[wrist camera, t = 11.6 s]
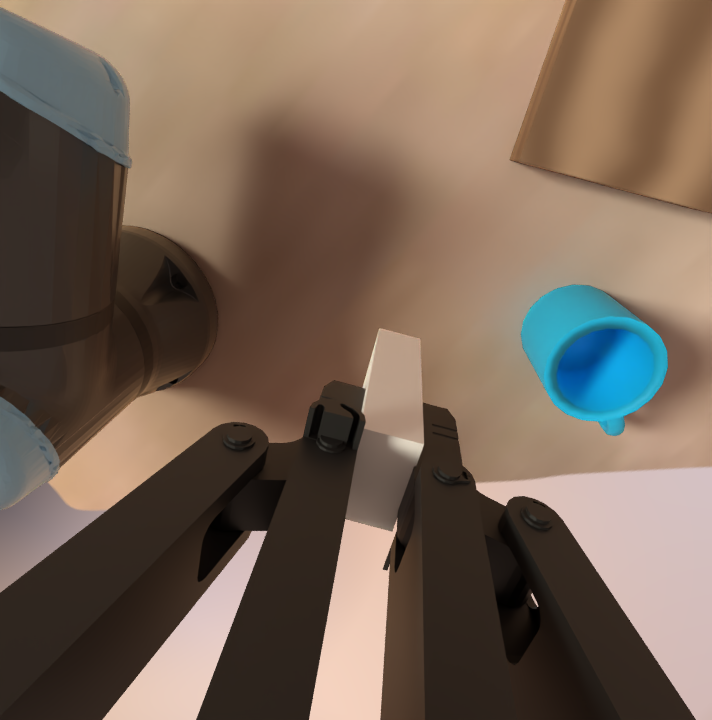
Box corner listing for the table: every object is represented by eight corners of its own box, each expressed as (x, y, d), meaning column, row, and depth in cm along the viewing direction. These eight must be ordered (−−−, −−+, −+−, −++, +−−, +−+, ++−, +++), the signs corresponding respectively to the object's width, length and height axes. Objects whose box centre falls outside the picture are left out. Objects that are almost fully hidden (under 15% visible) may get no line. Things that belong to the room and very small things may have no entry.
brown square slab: (509, 160, 36) (518, 161, 33) (591, -74, 30) (612, -100, 27) (689, 208, 36) (715, 214, 33) (806, -17, 30) (853, -36, 27)
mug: (508, 306, 41) (528, 342, 33) (607, 268, 38) (653, 297, 31) (549, 420, 44) (576, 474, 37) (641, 391, 42) (689, 442, 35)
